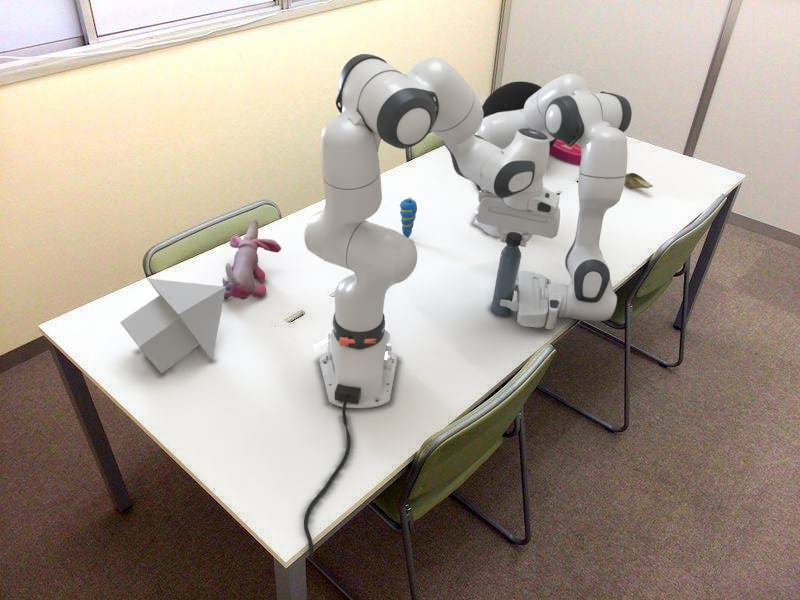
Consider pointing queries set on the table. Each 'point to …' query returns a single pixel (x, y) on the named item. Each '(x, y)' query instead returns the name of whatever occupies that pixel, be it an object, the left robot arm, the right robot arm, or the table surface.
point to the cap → (513, 239)
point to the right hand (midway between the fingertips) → (500, 294)
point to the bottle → (506, 278)
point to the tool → (636, 181)
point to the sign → (566, 152)
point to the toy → (247, 265)
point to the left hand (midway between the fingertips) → (513, 243)
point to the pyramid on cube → (176, 321)
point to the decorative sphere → (510, 99)
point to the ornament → (408, 215)
